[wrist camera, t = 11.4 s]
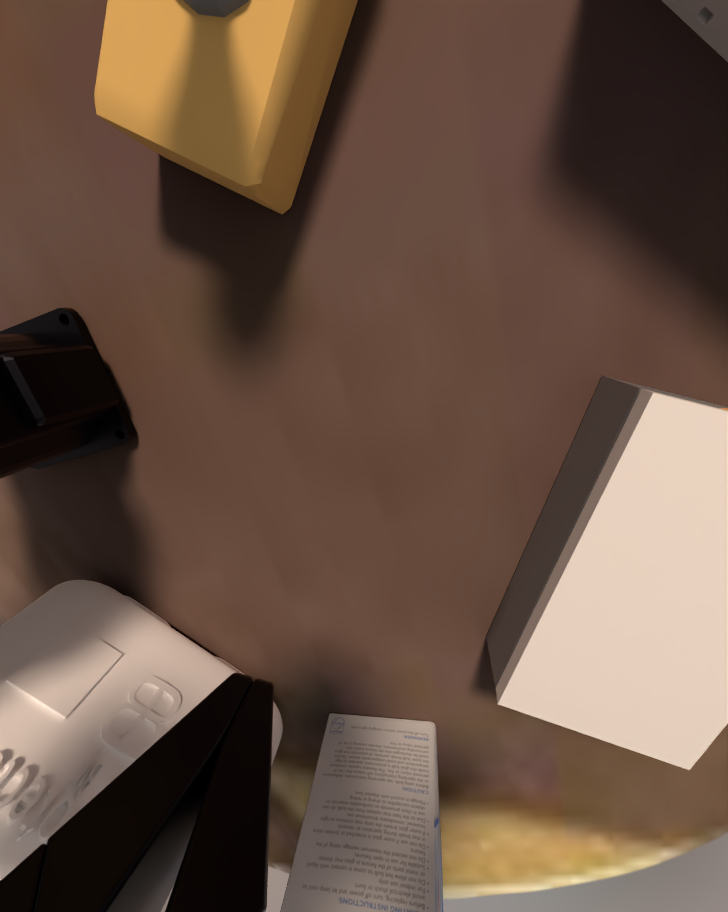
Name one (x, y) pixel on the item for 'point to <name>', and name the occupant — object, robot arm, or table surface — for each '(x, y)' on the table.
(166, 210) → the table surface
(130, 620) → the cable organizer
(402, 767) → the light bulb box
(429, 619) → the table surface
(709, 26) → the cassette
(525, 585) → the cable duct
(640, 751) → the white rectangular panel
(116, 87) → the rubber stamp
